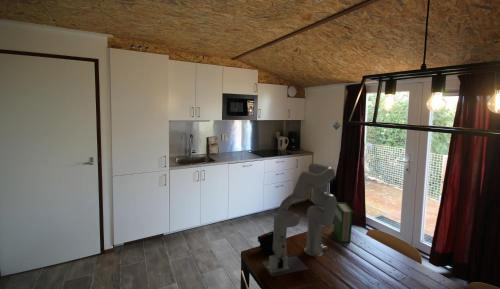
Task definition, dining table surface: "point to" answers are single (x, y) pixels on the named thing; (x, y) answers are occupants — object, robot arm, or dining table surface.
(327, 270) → the dining table surface
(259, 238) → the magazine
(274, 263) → the plug
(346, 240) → the hardback book
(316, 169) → the robot arm
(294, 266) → the board
